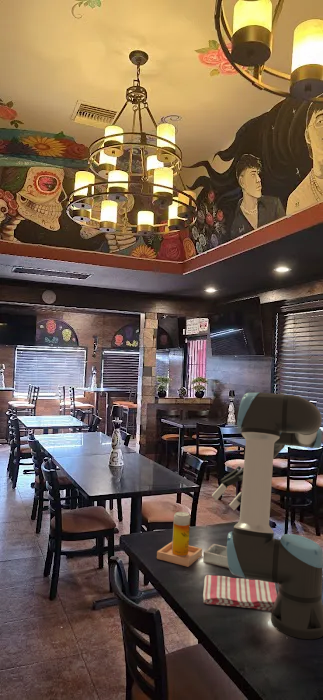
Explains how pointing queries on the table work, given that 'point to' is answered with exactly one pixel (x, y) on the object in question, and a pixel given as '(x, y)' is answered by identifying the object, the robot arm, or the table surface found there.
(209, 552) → the frame
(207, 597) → the dish towel
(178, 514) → the beer can
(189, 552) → the serving tray
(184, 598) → the table surface
